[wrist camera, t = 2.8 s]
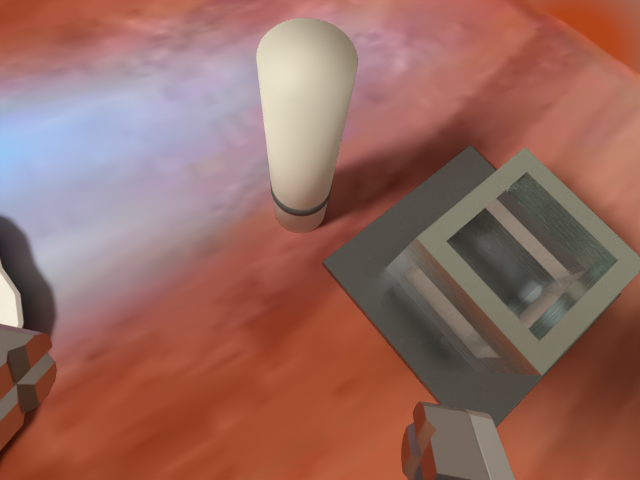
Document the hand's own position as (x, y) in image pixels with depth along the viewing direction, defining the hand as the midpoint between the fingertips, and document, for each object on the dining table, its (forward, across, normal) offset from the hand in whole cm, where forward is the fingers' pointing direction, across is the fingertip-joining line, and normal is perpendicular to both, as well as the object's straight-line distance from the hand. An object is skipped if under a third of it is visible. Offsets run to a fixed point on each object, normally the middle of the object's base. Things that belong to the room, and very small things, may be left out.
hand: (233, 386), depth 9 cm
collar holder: (+20, -13, +7) cm, 25 cm away
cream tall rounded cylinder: (+22, 0, +5) cm, 23 cm away
